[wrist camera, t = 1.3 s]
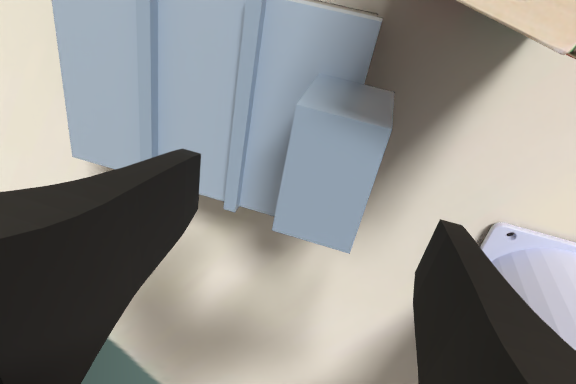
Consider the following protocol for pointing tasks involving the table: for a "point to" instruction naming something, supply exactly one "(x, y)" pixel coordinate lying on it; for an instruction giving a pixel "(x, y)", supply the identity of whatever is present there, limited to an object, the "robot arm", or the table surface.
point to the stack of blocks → (535, 20)
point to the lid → (234, 101)
